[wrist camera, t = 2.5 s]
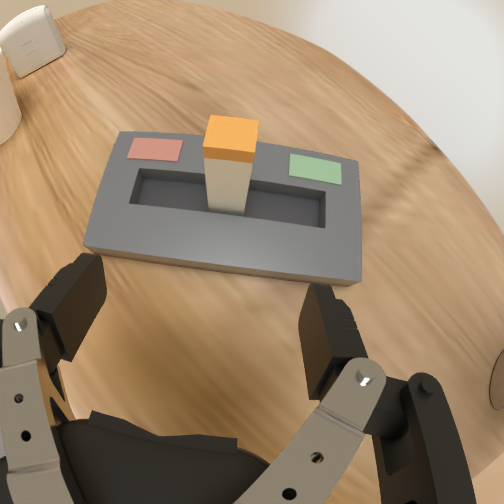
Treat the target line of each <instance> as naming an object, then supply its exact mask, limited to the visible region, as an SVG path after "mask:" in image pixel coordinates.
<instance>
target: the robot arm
mask: <svg viewBox="0 0 504 504" xmlns="http://www.w3.org/2000/svg"><path fill="white" fill-rule="evenodd" d="M106 295H107V287H106V281H105V275H104V268H103V262H102V258H101V256H100V255H95V254H89V253H81V254H80V255H79V257H78V258H77V259H76V260H75V261H74V262H73V263H70V264H68V265H67V266H65V267H63V268H62V269H60V270H59V271H58V273H57V274H56V275H55V276H54V277H53V279H52V280H51V281H50V282H49V283H48V286H46V287H45V288H44V289H43V290H42V292H41V293H40V294H39V295H38V297H37V298H36V299H35V300H34V302H33V303H32V304H31V305H30V307H29V308H18V309H15V310H13V311H11V312H10V313H9V314H8V315H7V316H6V317H5V319H3V320H1V319H0V427H1V433H2V439H3V444H4V449H5V454H6V456H4V457H3V458H1V459H0V504H323V503H324V502H325V501H326V499H327V498H328V496H329V495H330V493H331V492H332V490H333V489H334V487H335V486H336V484H337V483H338V481H339V480H340V478H341V477H342V475H343V473H344V472H345V470H346V468H347V467H348V465H349V463H350V462H351V460H352V458H353V457H354V455H355V453H356V451H357V450H358V448H359V446H360V444H361V442H362V440H363V438H364V436H365V434H369V435H372V440H373V446H374V452H375V458H376V465H377V471H378V479H379V486H380V494H381V503H382V504H476V498H475V494H474V489H473V485H472V480H471V476H470V472H469V468H468V465H467V461H466V457H465V454H464V450H463V447H462V444H461V440H460V437H459V434H458V431H457V428H456V425H455V422H454V419H453V416H452V413H451V410H450V408H449V405H448V402H447V400H446V397H445V394H444V392H443V389H442V387H441V385H440V383H439V382H438V381H437V379H435V378H434V377H433V376H431V375H429V374H427V373H416V374H414V375H413V376H411V378H410V379H409V380H408V382H407V381H403V380H399V379H395V378H391V377H387V376H386V375H385V372H384V370H383V369H382V367H381V366H380V365H379V364H377V363H376V362H374V361H373V360H370V359H369V358H368V356H367V353H366V350H365V347H364V344H363V342H362V339H361V336H360V333H359V331H358V329H357V325H356V323H355V321H354V317H353V315H352V312H351V309H350V308H349V307H348V306H347V305H346V304H345V302H344V301H343V300H340V299H336V298H335V295H334V293H333V290H332V287H331V286H330V285H322V284H313V283H311V284H310V285H309V287H308V290H307V294H306V297H305V300H304V303H303V306H302V309H301V313H300V316H299V324H298V329H299V336H300V342H301V348H302V355H303V361H304V368H305V374H306V381H307V388H308V395H309V400H320V404H319V406H318V407H316V409H315V410H314V411H313V413H312V414H311V415H310V417H309V418H308V419H307V421H306V422H305V423H304V425H303V426H302V427H301V428H300V430H299V431H298V432H297V434H296V435H295V436H294V437H293V439H292V440H291V441H290V442H289V444H288V445H287V446H286V447H285V448H284V450H283V451H282V452H281V453H280V454H279V455H278V457H277V458H276V459H275V460H274V461H273V462H272V464H271V465H270V464H269V463H268V462H267V461H265V460H264V459H262V458H261V457H259V456H257V455H255V454H254V453H252V452H249V451H247V450H244V449H241V448H238V447H237V438H226V437H217V436H208V435H200V434H198V435H183V436H157V435H154V434H152V433H150V432H148V431H146V430H144V429H142V428H140V427H138V426H136V425H134V424H132V423H130V422H128V421H126V420H124V419H120V418H116V417H113V416H109V415H106V414H102V413H99V412H96V411H93V410H92V412H91V415H90V417H89V419H77V420H76V419H75V417H74V415H73V413H72V410H71V408H70V405H69V402H68V398H67V395H66V391H65V387H64V384H63V380H62V376H61V371H60V368H59V366H58V363H59V361H60V359H63V360H66V361H69V362H72V360H73V358H74V356H75V354H76V352H77V350H78V349H79V347H80V345H81V343H82V341H83V339H84V337H85V336H86V334H87V332H88V330H89V328H90V326H91V325H92V323H93V321H94V319H95V318H96V316H97V314H98V312H99V311H100V309H101V307H102V306H103V304H104V302H105V299H106ZM490 398H491V402H492V405H493V407H494V408H495V409H498V410H504V351H503V352H502V354H501V355H500V357H499V358H498V360H497V363H496V365H495V368H494V371H493V375H492V379H491V386H490Z"/></svg>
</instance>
